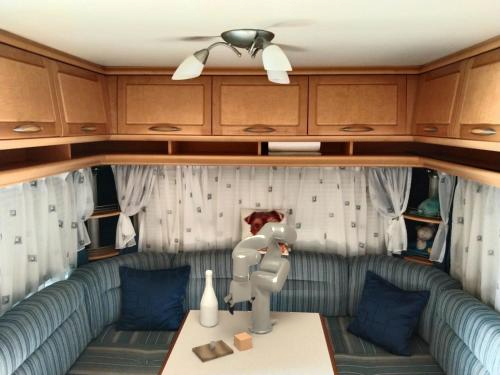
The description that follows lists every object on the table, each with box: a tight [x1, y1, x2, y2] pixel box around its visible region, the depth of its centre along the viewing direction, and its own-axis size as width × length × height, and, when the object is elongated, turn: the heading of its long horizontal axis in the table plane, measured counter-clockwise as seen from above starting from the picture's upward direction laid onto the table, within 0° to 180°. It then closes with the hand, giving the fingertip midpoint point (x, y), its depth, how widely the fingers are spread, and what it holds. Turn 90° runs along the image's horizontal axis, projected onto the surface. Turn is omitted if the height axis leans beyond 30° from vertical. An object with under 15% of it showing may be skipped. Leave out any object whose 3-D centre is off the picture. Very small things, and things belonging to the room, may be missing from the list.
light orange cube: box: [233, 331, 253, 352], centre depth 218 cm, size 6×6×6 cm
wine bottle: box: [199, 269, 219, 328], centre depth 241 cm, size 10×10×30 cm
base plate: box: [191, 339, 235, 363], centre depth 213 cm, size 16×12×5 cm
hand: (240, 312), depth 216 cm, fingers open, 9 cm apart
